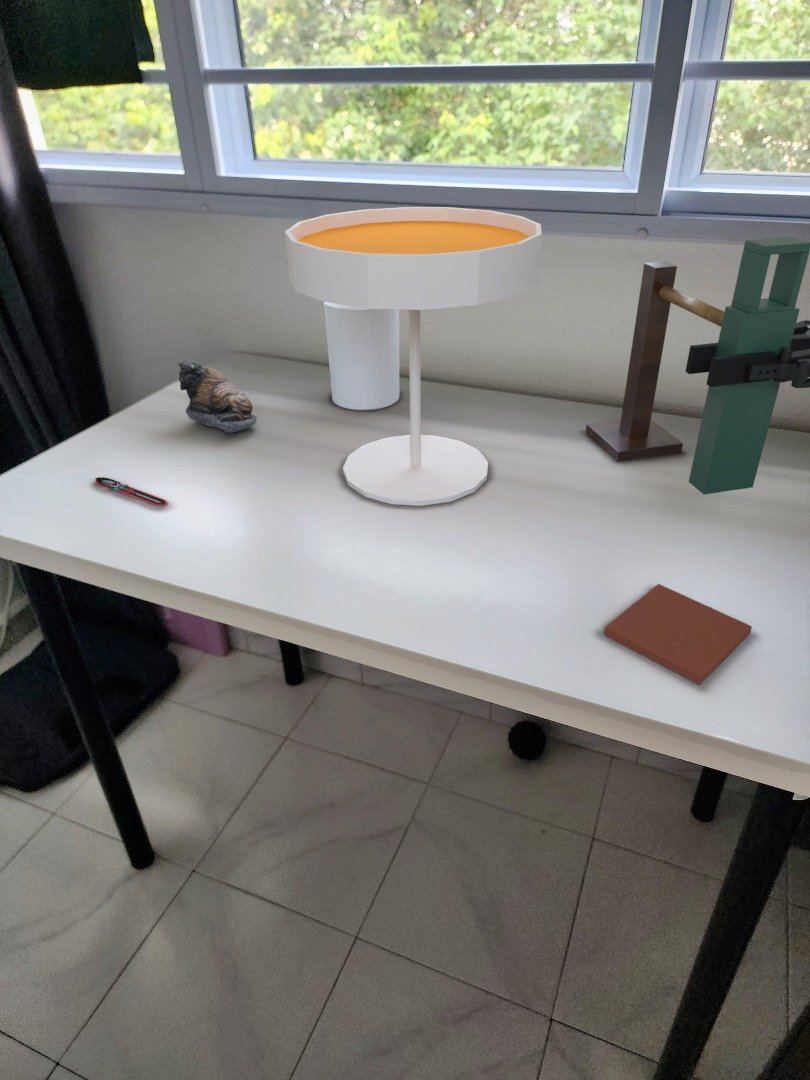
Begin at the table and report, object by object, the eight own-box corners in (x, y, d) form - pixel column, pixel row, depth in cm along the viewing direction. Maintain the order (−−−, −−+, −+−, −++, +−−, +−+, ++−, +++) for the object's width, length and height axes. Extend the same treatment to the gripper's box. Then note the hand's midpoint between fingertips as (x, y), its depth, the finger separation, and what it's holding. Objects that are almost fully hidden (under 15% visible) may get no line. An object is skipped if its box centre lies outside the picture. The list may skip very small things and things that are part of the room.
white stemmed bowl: (568, 491, 97) (598, 236, 80) (358, 548, 86) (342, 268, 70) (456, 412, 120) (461, 200, 103) (279, 450, 109) (252, 220, 92)
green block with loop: (753, 487, 81) (818, 242, 68) (703, 494, 80) (759, 246, 66) (736, 475, 84) (795, 236, 70) (688, 482, 82) (739, 240, 69)
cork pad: (750, 634, 73) (752, 626, 72) (699, 685, 67) (701, 677, 66) (657, 591, 79) (658, 583, 78) (603, 634, 73) (604, 626, 72)
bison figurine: (265, 424, 117) (257, 362, 111) (239, 442, 111) (229, 378, 106) (203, 413, 121) (192, 352, 116) (174, 430, 116) (162, 367, 110)
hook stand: (730, 490, 97) (778, 293, 83) (660, 501, 95) (698, 300, 81) (645, 425, 114) (674, 253, 101) (585, 432, 112) (606, 258, 99)
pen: (161, 510, 94) (160, 506, 94) (90, 483, 101) (89, 479, 101) (173, 504, 96) (172, 499, 96) (102, 477, 102) (101, 473, 102)
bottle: (396, 411, 120) (392, 248, 107) (323, 409, 122) (311, 247, 108) (405, 385, 130) (402, 232, 117) (338, 383, 132) (328, 231, 118)
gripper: (953, 406, 73) (742, 434, 69) (835, 354, 86) (652, 375, 82) (983, 330, 69) (761, 354, 65) (855, 288, 82) (663, 305, 78)
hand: (700, 365), depth 73 cm, fingers closed on green block with loop, 3 cm apart
